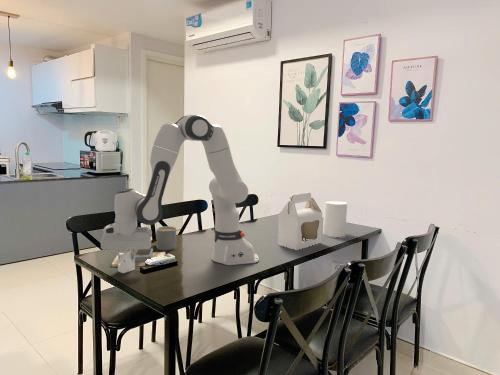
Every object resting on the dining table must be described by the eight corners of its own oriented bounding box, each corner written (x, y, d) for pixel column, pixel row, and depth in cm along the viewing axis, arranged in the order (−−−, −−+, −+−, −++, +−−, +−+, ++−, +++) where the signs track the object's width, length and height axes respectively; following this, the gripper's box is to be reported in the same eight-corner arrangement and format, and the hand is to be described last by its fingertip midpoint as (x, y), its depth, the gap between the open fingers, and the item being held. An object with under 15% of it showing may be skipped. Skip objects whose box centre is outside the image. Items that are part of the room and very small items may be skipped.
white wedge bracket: (143, 261, 165) (134, 247, 160) (126, 278, 159) (116, 263, 154) (138, 259, 167) (129, 245, 162) (121, 275, 161) (111, 261, 156)
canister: (348, 234, 231) (351, 202, 229) (338, 238, 221) (340, 205, 218) (329, 230, 240) (331, 199, 237) (318, 234, 230) (320, 202, 227)
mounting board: (165, 254, 183) (165, 251, 183) (163, 265, 168) (163, 262, 168) (118, 255, 180) (118, 252, 180) (111, 266, 164) (111, 264, 164)
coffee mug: (179, 248, 194) (179, 229, 192) (161, 251, 188) (161, 232, 186) (168, 242, 204) (168, 224, 203) (150, 245, 198) (150, 226, 197)
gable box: (302, 238, 220) (304, 191, 216) (321, 243, 211) (323, 193, 207) (277, 245, 205) (279, 194, 201) (296, 250, 195) (298, 197, 192)
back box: (153, 253, 180) (153, 248, 180) (150, 261, 169) (150, 256, 168) (130, 254, 178) (130, 249, 178) (126, 262, 167) (125, 256, 167)
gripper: (152, 225, 163) (152, 255, 165) (102, 226, 159) (103, 257, 161) (150, 228, 156) (151, 260, 158) (99, 229, 153) (100, 262, 155)
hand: (126, 259), depth 160 cm, fingers open, 4 cm apart
